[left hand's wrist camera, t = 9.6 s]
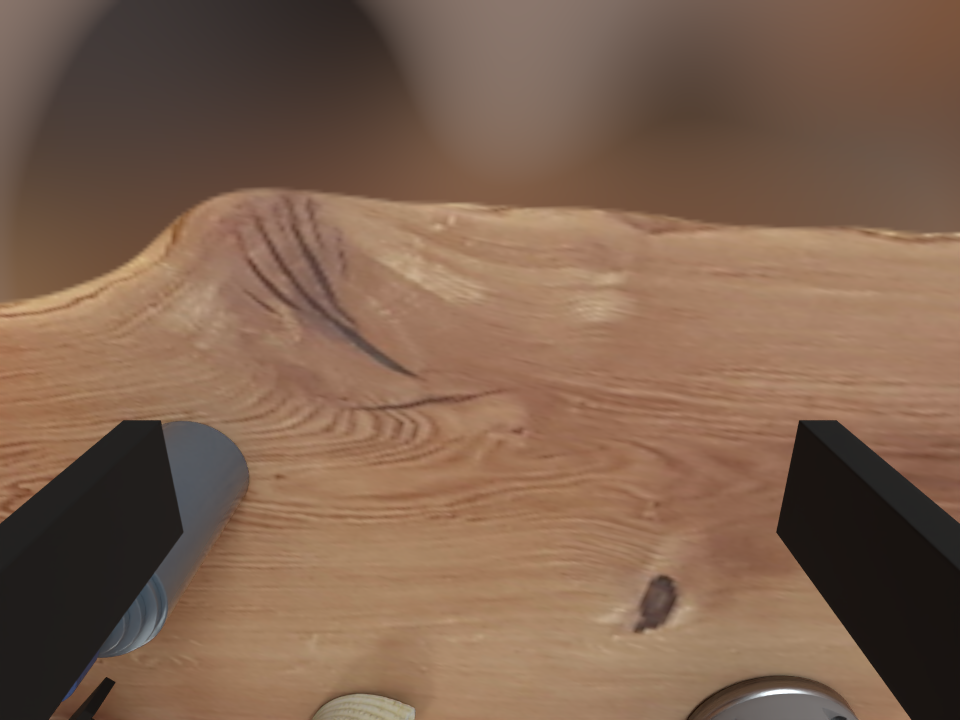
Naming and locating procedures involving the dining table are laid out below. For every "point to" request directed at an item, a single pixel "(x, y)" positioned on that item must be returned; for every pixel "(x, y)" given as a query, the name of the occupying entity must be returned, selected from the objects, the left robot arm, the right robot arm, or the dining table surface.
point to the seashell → (365, 709)
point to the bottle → (185, 526)
